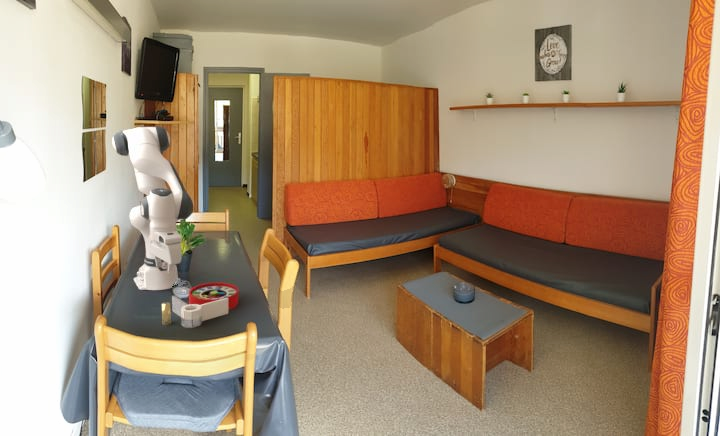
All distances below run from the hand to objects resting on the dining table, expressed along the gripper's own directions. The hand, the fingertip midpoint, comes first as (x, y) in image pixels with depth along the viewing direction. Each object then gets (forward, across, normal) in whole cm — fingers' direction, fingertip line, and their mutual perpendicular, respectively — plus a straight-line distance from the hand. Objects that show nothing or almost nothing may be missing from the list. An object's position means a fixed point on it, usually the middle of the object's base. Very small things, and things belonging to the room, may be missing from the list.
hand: (164, 270), depth 167 cm
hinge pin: (+21, 0, 0) cm, 21 cm away
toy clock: (+22, -6, +23) cm, 32 cm away
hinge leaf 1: (+21, 0, +7) cm, 22 cm away
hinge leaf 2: (+21, +6, +13) cm, 26 cm away
